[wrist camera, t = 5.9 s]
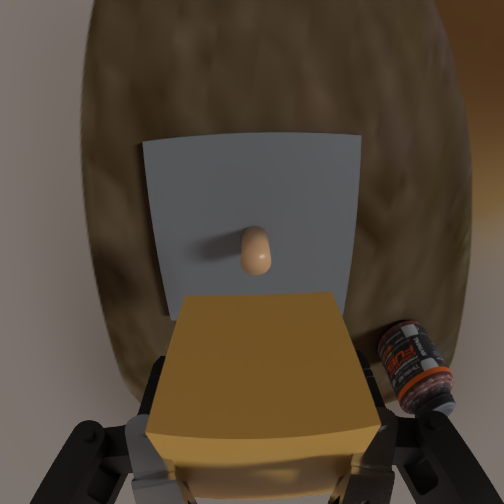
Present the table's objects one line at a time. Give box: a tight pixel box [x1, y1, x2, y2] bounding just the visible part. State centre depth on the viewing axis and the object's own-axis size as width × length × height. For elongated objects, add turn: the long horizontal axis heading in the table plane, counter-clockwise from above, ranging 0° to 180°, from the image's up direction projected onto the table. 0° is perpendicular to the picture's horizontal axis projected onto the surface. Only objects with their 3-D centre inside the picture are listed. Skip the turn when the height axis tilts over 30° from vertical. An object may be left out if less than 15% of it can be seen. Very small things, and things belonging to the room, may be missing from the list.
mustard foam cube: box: [145, 292, 381, 499], centre depth 10 cm, size 6×6×6 cm
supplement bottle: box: [378, 320, 456, 418], centre depth 24 cm, size 6×6×11 cm
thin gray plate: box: [143, 132, 361, 320], centre depth 22 cm, size 16×16×5 cm
